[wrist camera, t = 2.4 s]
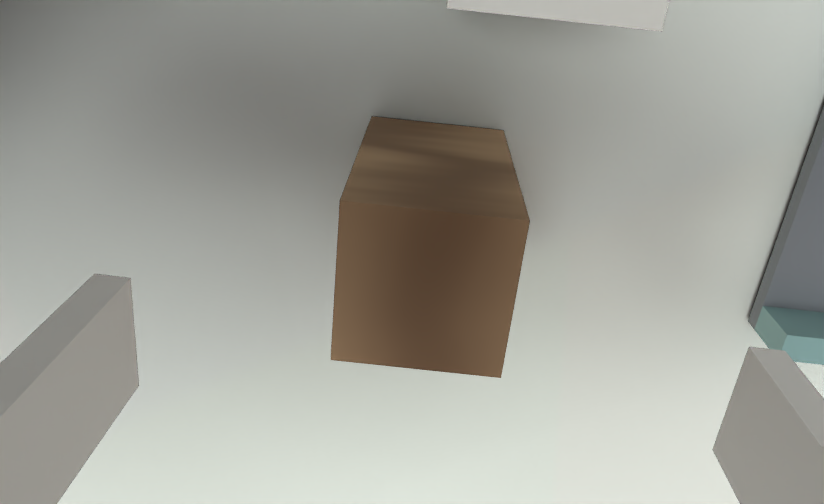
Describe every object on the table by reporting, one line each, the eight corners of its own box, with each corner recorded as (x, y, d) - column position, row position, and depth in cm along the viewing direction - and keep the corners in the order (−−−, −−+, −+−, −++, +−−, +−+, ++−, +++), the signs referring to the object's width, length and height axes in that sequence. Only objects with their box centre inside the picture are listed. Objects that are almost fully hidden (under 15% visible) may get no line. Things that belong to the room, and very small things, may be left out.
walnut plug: (362, 236, 26) (330, 360, 18) (371, 116, 24) (339, 200, 16) (484, 249, 26) (500, 377, 18) (503, 130, 24) (529, 220, 16)
